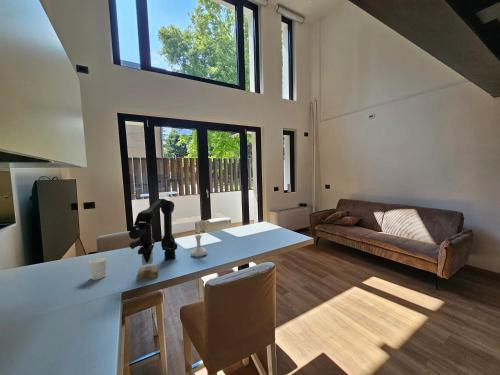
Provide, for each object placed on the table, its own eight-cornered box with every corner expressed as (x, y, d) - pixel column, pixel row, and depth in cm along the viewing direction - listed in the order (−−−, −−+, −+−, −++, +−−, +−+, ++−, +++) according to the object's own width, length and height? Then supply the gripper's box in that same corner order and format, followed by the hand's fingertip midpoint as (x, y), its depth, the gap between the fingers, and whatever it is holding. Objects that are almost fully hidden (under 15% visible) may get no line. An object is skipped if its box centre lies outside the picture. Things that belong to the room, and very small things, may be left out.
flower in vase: (195, 259, 141) (193, 223, 140) (188, 255, 150) (186, 220, 148) (212, 254, 150) (210, 219, 148) (204, 250, 158) (203, 217, 157)
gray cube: (153, 260, 123) (152, 252, 123) (152, 263, 118) (151, 255, 118) (143, 261, 121) (143, 253, 121) (142, 265, 116) (141, 256, 116)
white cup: (92, 275, 122) (91, 258, 121) (108, 272, 125) (107, 256, 124) (88, 281, 115) (87, 263, 114) (105, 278, 118) (104, 261, 117)
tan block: (158, 270, 126) (158, 264, 126) (157, 278, 117) (157, 271, 117) (139, 274, 123) (139, 267, 123) (137, 282, 114) (137, 274, 113)
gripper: (133, 231, 125) (135, 256, 126) (126, 240, 107) (128, 270, 108) (153, 229, 128) (155, 254, 129) (149, 237, 111) (151, 266, 112)
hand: (147, 260), depth 120 cm, fingers closed on gray cube, 5 cm apart
